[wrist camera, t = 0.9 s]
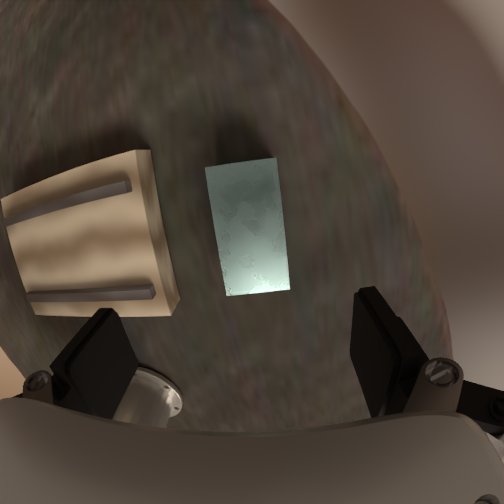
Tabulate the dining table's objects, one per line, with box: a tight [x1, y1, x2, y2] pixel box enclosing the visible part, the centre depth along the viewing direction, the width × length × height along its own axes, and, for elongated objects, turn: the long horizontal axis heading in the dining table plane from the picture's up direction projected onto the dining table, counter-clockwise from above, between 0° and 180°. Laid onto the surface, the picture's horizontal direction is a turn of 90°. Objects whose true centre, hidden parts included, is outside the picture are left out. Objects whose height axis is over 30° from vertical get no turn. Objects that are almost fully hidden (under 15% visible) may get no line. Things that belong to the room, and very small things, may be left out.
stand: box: [1, 150, 180, 317], centre depth 29 cm, size 18×24×5 cm
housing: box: [205, 158, 290, 296], centre depth 27 cm, size 12×6×6 cm, turn 8°
